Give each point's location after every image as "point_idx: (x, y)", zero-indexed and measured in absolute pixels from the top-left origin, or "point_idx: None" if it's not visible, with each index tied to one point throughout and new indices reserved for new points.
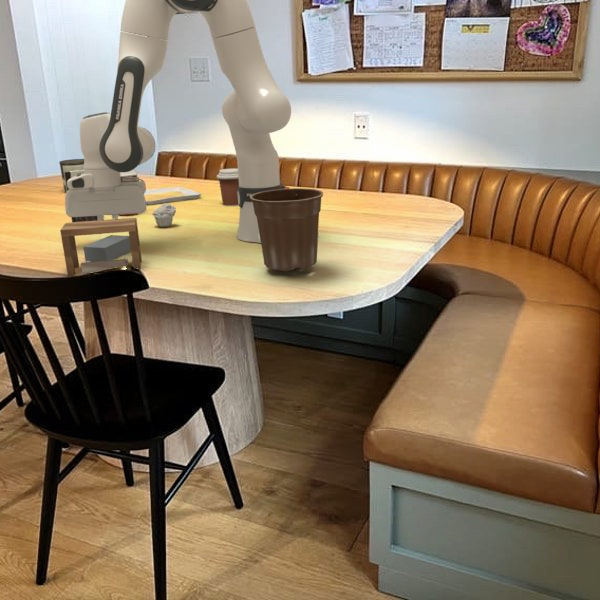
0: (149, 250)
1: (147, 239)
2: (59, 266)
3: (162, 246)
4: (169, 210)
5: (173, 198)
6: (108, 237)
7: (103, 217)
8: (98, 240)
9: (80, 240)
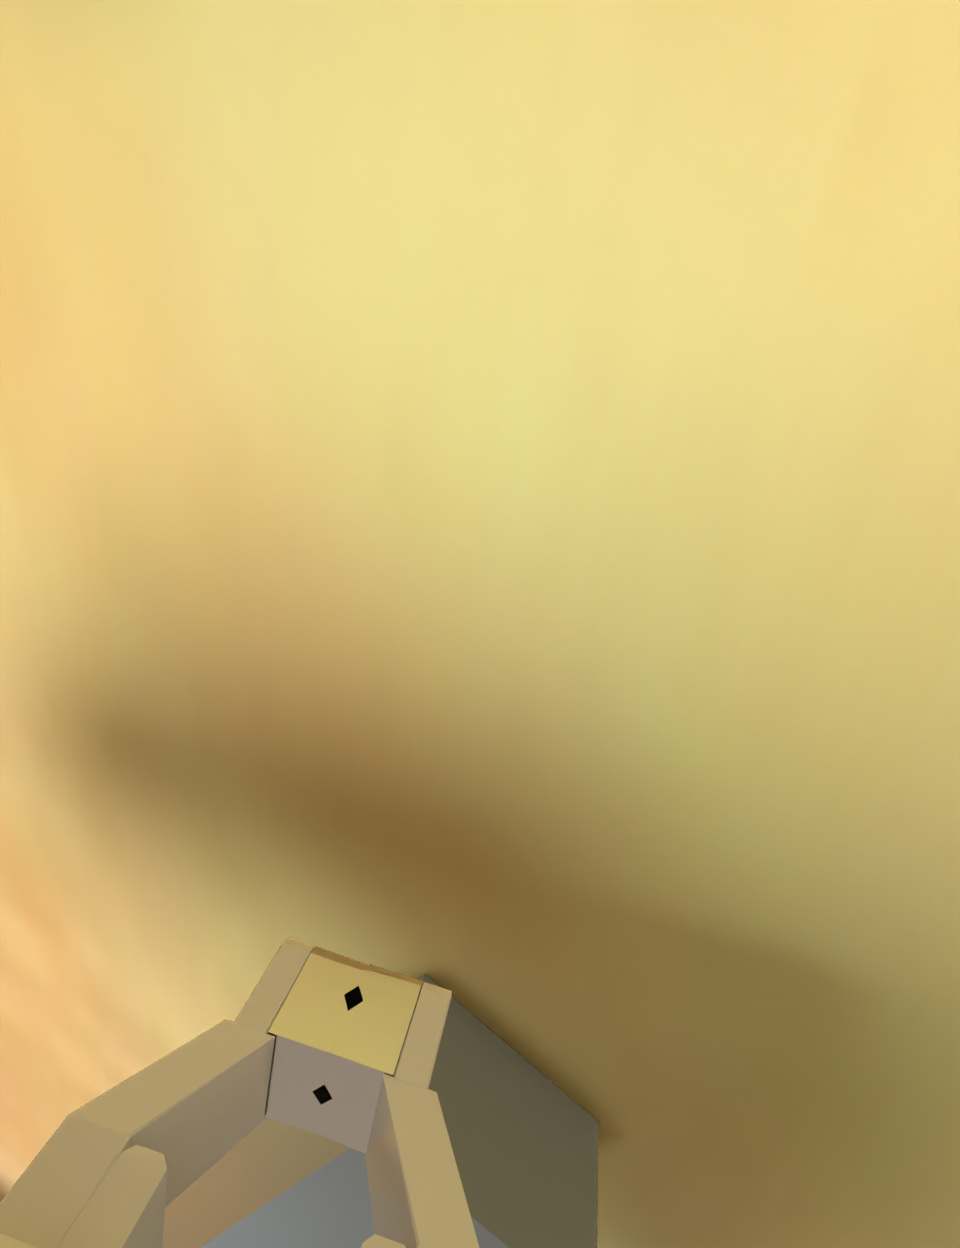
0: (732, 1227)
1: (921, 829)
2: (43, 1138)
3: (917, 1202)
4: None
5: None
6: (332, 1203)
7: (159, 1206)
8: (226, 1231)
9: (79, 328)
